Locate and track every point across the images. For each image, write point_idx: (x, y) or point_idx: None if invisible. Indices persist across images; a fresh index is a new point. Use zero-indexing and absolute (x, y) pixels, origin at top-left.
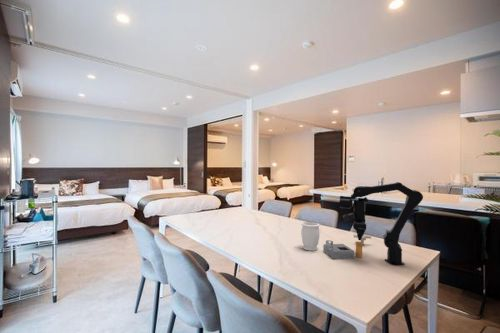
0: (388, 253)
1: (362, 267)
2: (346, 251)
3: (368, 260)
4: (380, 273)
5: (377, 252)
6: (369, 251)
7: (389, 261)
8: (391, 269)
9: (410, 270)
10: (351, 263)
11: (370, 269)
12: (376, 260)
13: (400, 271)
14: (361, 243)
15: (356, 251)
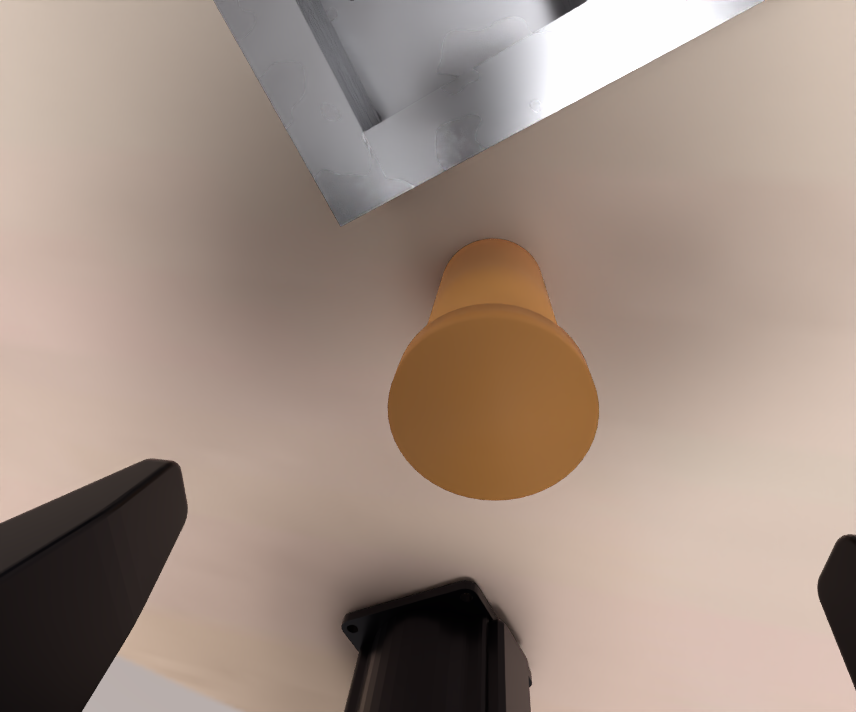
0: (413, 701)
1: (70, 294)
2: (236, 38)
3: (384, 402)
4: (27, 458)
5: (793, 565)
6: (829, 475)
7: (403, 614)
8: (210, 572)
9: (280, 697)
10: (124, 145)
11: (69, 379)
12: (430, 494)
13: (205, 626)
14: (426, 462)
15: (457, 273)
